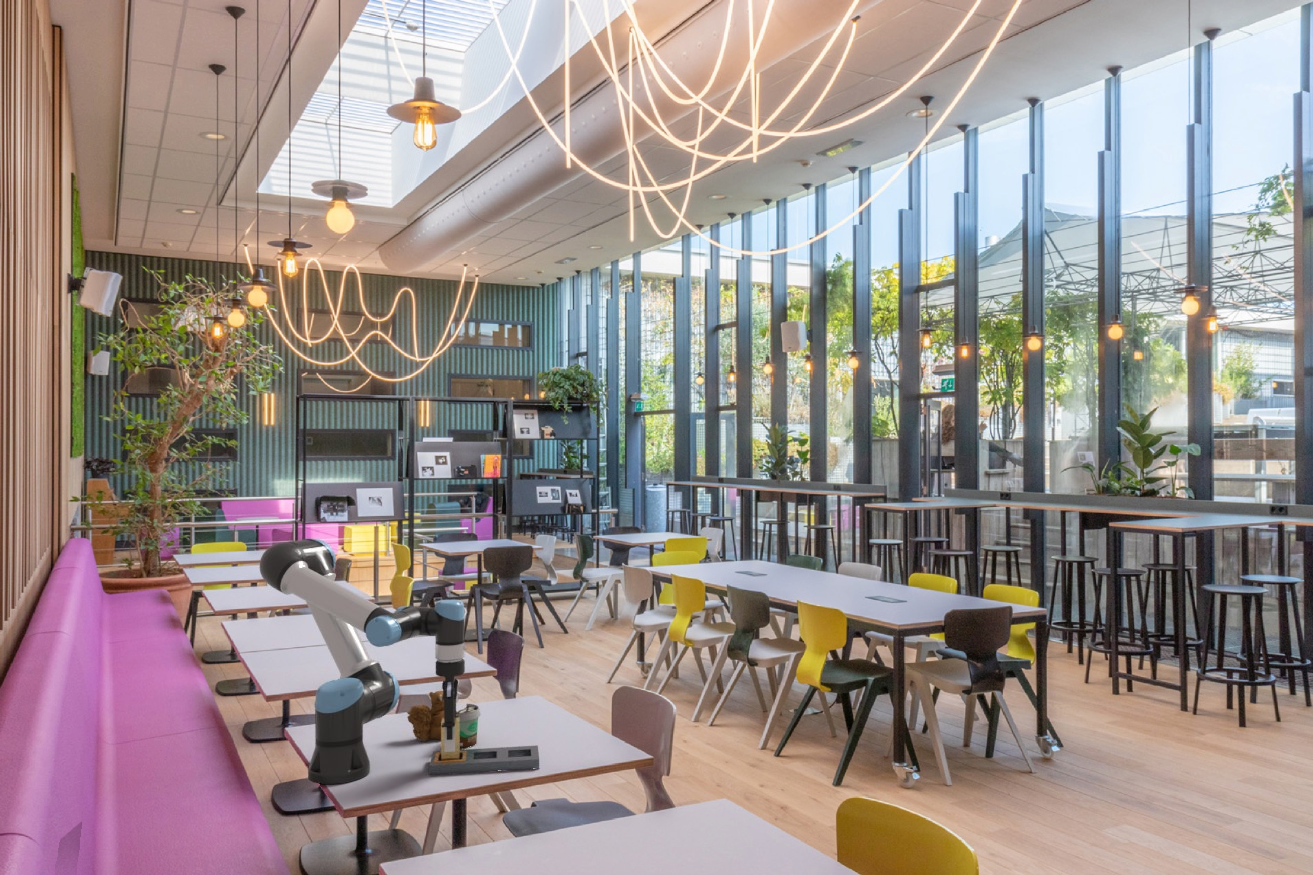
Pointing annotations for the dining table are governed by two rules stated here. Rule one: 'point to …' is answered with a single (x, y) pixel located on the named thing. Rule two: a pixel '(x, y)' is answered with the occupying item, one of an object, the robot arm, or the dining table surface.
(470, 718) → the food container
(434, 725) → the stuffed squirrel
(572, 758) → the dining table surface
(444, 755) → the brass post
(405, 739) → the dining table surface
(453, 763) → the grey slotted tray
